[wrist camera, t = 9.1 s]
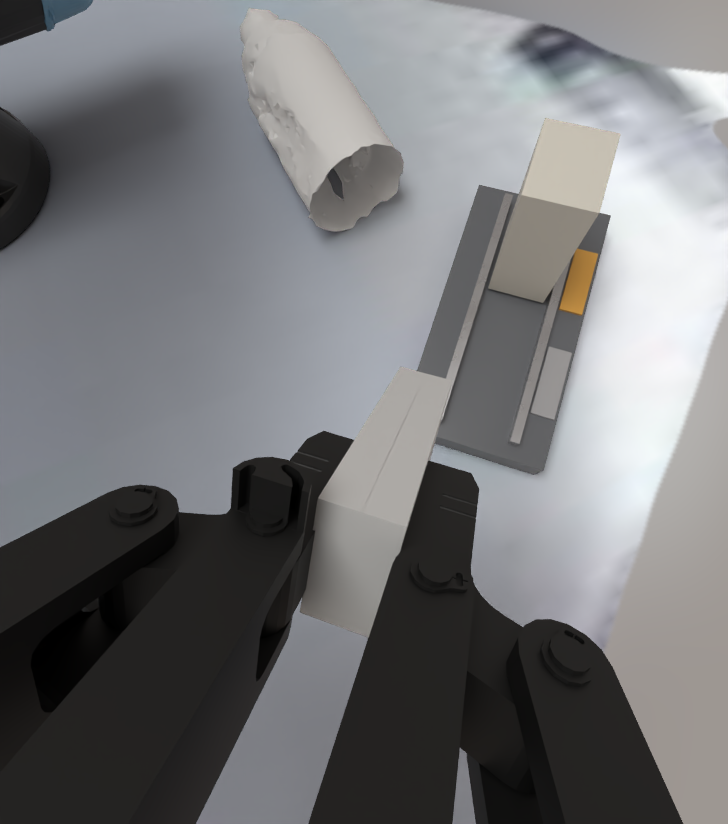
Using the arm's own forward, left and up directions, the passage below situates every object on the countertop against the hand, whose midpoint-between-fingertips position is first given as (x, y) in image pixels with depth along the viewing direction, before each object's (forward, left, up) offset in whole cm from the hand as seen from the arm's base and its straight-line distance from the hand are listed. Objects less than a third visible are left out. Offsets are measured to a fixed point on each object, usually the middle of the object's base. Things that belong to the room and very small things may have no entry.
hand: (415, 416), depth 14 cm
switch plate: (-10, +10, -21) cm, 25 cm away
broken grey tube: (-30, -2, -22) cm, 37 cm away
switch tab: (-13, +11, -18) cm, 26 cm away
